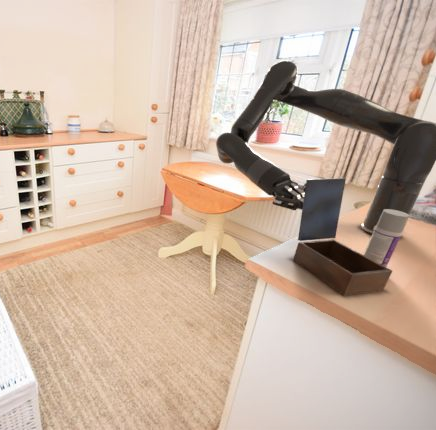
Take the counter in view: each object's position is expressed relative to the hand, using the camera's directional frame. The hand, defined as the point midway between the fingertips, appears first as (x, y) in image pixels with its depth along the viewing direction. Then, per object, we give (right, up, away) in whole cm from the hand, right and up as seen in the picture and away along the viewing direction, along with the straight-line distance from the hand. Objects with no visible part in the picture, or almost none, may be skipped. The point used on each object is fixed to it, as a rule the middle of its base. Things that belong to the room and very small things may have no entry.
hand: (319, 214), depth 74 cm
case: (0, -14, -5) cm, 15 cm away
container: (+11, -14, -3) cm, 18 cm away
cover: (-1, +1, -3) cm, 3 cm away
